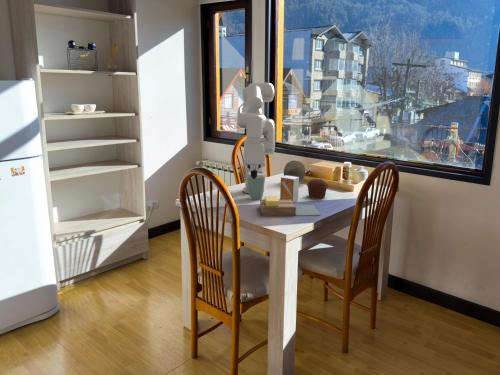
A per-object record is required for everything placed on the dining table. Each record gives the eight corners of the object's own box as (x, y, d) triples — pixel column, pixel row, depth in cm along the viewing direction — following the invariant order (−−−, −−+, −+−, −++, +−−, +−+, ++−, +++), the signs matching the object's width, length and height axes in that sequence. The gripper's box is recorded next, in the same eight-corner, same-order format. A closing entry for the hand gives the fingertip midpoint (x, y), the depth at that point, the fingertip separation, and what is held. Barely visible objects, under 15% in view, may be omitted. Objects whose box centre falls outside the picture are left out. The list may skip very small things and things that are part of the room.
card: (264, 200, 210) (264, 196, 210) (276, 200, 211) (276, 196, 210) (266, 206, 202) (266, 201, 201) (278, 205, 202) (278, 201, 201)
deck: (260, 207, 213) (260, 199, 213) (290, 206, 215) (291, 199, 214) (262, 215, 200) (262, 207, 199) (295, 215, 201) (295, 207, 200)
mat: (290, 206, 216) (290, 205, 215) (313, 205, 216) (313, 205, 216) (296, 215, 200) (296, 215, 200) (320, 215, 201) (320, 214, 201)
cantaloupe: (278, 183, 264) (279, 159, 261) (296, 180, 271) (297, 158, 267) (290, 188, 252) (291, 163, 249) (309, 185, 259) (310, 161, 255)
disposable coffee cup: (263, 201, 223) (264, 174, 219) (244, 200, 225) (244, 173, 221) (266, 196, 233) (267, 170, 229) (248, 195, 235) (248, 169, 231)
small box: (279, 200, 226) (280, 177, 223) (285, 197, 231) (286, 175, 228) (292, 202, 222) (293, 179, 218) (298, 200, 227) (299, 177, 223)
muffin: (303, 197, 232) (304, 180, 230) (310, 193, 242) (311, 176, 239) (323, 200, 227) (324, 182, 224) (330, 195, 236) (331, 178, 234)
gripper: (269, 139, 202) (268, 176, 206) (238, 139, 201) (238, 176, 205) (270, 141, 195) (270, 180, 199) (239, 141, 193) (238, 180, 198)
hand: (253, 178), depth 202 cm, fingers closed
